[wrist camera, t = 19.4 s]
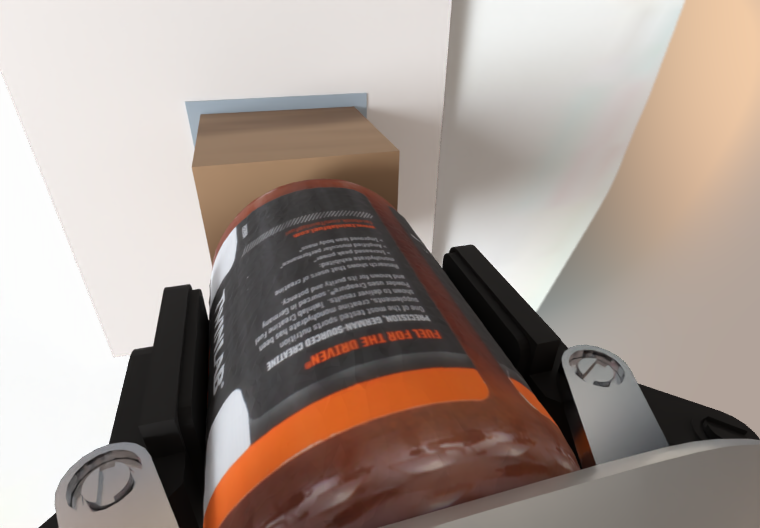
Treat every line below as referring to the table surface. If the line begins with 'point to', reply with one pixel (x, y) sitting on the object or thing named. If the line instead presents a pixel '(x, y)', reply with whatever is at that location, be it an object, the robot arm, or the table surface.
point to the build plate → (182, 114)
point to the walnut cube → (285, 158)
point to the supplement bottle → (354, 374)
